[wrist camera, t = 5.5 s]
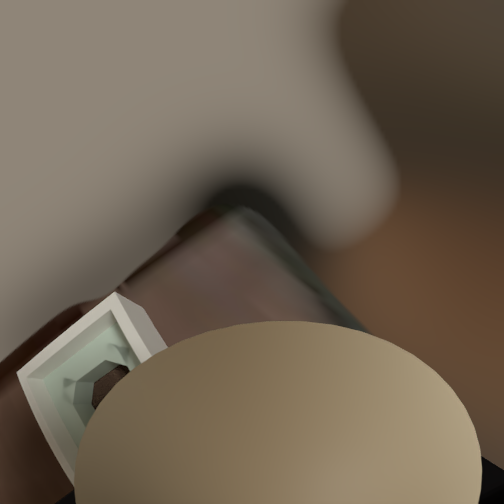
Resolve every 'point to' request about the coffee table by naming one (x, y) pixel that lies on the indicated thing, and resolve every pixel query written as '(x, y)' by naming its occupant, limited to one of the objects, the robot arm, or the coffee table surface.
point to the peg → (280, 424)
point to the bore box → (84, 370)
